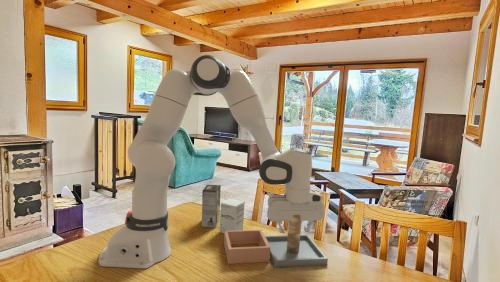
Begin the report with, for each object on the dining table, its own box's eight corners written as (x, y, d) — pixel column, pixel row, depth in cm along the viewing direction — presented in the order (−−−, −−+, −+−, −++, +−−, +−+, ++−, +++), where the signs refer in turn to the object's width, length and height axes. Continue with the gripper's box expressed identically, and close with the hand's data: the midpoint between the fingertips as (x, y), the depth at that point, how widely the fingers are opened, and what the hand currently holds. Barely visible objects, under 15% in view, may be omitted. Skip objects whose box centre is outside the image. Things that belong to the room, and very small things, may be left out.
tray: (275, 267, 94) (275, 261, 93) (262, 241, 111) (263, 236, 111) (327, 264, 97) (327, 258, 97) (307, 239, 115) (307, 234, 114)
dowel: (288, 253, 101) (291, 215, 100) (285, 247, 106) (287, 211, 104) (300, 253, 102) (303, 215, 100) (296, 246, 107) (299, 210, 105)
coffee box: (205, 218, 131) (206, 184, 129) (219, 219, 131) (221, 184, 128) (201, 226, 122) (202, 189, 120) (216, 228, 121) (217, 191, 119)
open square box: (228, 263, 95) (228, 249, 94) (224, 243, 108) (224, 230, 108) (269, 261, 97) (270, 247, 97) (260, 241, 111) (261, 229, 110)
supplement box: (218, 232, 117) (220, 202, 116) (228, 226, 124) (229, 197, 122) (234, 237, 114) (235, 206, 112) (243, 230, 120) (245, 201, 119)
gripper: (270, 197, 96) (268, 236, 98) (327, 196, 100) (324, 234, 102) (266, 191, 103) (263, 228, 104) (320, 191, 106) (317, 227, 108)
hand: (294, 231), depth 103 cm, fingers open, 8 cm apart
